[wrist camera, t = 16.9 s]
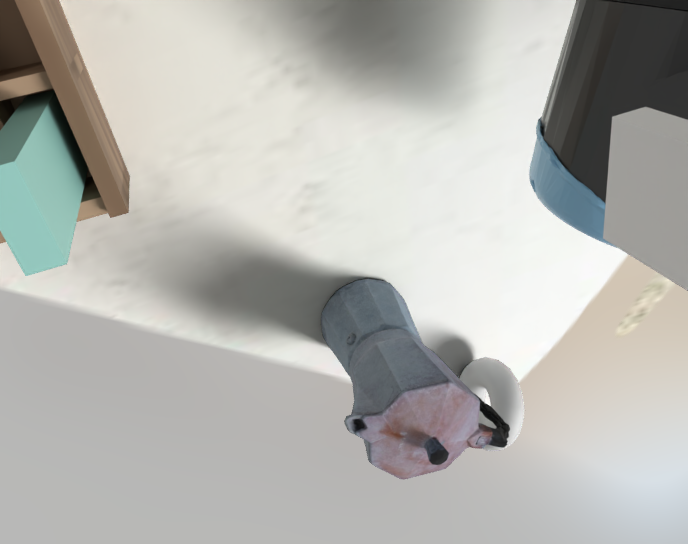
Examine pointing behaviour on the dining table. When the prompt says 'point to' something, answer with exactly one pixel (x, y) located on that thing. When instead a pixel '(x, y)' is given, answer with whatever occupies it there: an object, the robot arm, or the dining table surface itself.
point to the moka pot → (402, 385)
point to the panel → (40, 183)
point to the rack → (61, 95)
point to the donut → (496, 394)
